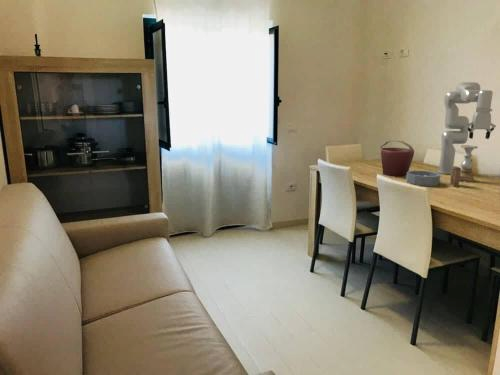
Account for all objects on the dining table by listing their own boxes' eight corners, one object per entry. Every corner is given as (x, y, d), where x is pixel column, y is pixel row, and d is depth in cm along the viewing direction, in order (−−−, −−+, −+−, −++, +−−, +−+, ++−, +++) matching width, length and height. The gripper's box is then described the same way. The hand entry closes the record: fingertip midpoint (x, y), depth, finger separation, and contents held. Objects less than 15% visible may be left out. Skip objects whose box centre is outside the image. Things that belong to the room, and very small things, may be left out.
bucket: (371, 172, 294) (374, 139, 288) (392, 170, 304) (395, 138, 298) (397, 179, 273) (400, 143, 267) (419, 176, 283) (422, 141, 277)
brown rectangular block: (450, 184, 259) (452, 166, 256) (454, 184, 258) (457, 166, 256) (453, 186, 253) (456, 168, 250) (458, 186, 253) (460, 168, 250)
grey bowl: (402, 179, 272) (403, 170, 271) (432, 180, 270) (433, 170, 269) (411, 185, 253) (412, 176, 251) (443, 186, 251) (444, 177, 249)
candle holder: (473, 179, 272) (478, 145, 266) (473, 182, 263) (478, 147, 257) (456, 178, 277) (460, 144, 272) (455, 181, 268) (459, 146, 262)
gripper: (494, 110, 243) (490, 138, 247) (465, 110, 245) (462, 137, 249) (500, 111, 236) (496, 139, 240) (471, 110, 238) (467, 139, 242)
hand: (478, 138), depth 245 cm, fingers open, 9 cm apart
